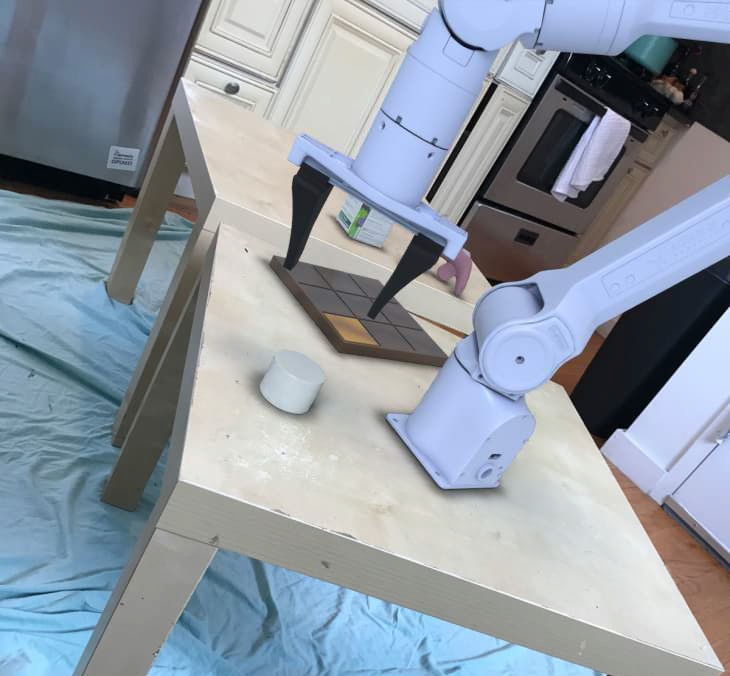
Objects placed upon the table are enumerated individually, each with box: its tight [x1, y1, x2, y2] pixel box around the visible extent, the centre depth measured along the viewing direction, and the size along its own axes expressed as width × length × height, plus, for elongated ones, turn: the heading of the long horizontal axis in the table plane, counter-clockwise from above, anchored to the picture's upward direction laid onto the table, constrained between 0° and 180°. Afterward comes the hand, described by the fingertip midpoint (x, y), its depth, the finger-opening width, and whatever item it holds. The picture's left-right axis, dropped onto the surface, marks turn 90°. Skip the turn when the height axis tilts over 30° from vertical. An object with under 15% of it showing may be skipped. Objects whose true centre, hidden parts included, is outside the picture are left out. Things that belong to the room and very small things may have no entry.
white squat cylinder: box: [259, 348, 326, 415], centre depth 61 cm, size 4×4×3 cm
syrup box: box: [336, 194, 396, 249], centre depth 103 cm, size 6×6×14 cm
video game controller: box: [429, 247, 473, 296], centre depth 107 cm, size 10×5×7 cm, turn 84°
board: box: [269, 254, 449, 368], centre depth 83 cm, size 16×16×1 cm
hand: (331, 290), depth 61 cm, fingers open, 7 cm apart
